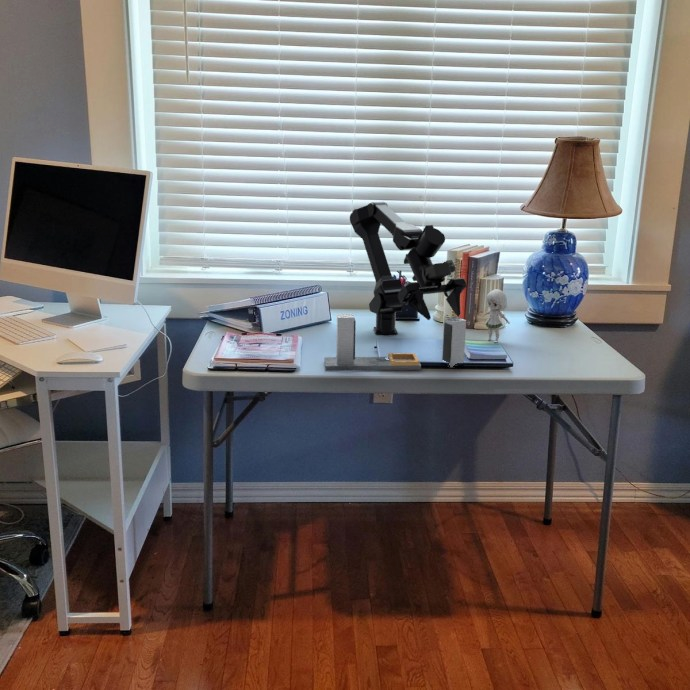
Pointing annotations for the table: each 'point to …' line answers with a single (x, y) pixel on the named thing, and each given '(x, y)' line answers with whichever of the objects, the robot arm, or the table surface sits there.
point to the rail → (350, 362)
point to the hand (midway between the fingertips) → (444, 317)
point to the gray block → (454, 340)
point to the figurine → (495, 311)
